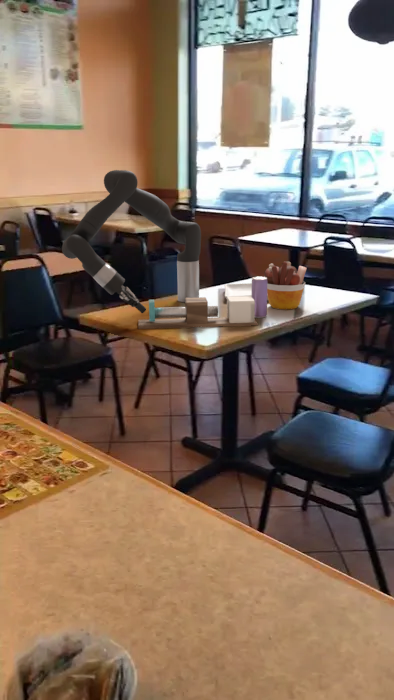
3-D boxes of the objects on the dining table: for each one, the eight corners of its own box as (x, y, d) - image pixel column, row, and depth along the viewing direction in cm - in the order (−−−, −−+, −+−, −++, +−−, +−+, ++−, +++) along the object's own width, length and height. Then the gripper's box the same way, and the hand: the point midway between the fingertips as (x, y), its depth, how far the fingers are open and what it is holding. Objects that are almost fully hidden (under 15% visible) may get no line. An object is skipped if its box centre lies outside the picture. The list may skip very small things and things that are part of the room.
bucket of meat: (266, 301, 271) (267, 254, 265) (305, 302, 267) (307, 255, 262) (261, 311, 252) (262, 261, 246) (303, 313, 249) (305, 262, 243)
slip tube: (149, 321, 230) (148, 302, 228) (149, 318, 235) (148, 299, 233) (218, 319, 232) (218, 300, 230) (216, 316, 236) (216, 297, 234)
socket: (226, 317, 239) (226, 296, 237) (250, 317, 239) (250, 296, 237) (229, 323, 231) (229, 301, 228) (254, 322, 231) (254, 300, 229)
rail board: (138, 322, 237) (137, 298, 235) (252, 319, 240) (253, 295, 238) (138, 328, 228) (137, 304, 225) (257, 325, 231) (257, 301, 228)
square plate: (224, 291, 295) (224, 283, 294) (283, 291, 294) (283, 283, 293) (224, 303, 269) (224, 294, 268) (289, 303, 268) (289, 294, 267)
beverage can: (265, 318, 241) (266, 279, 237) (250, 317, 242) (250, 278, 238) (267, 315, 247) (268, 276, 242) (252, 314, 248) (252, 276, 244)
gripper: (115, 274, 220) (151, 307, 224) (116, 268, 233) (151, 300, 237) (100, 289, 221) (137, 323, 226) (103, 282, 234) (137, 314, 238)
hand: (144, 311), depth 231 cm, fingers closed
